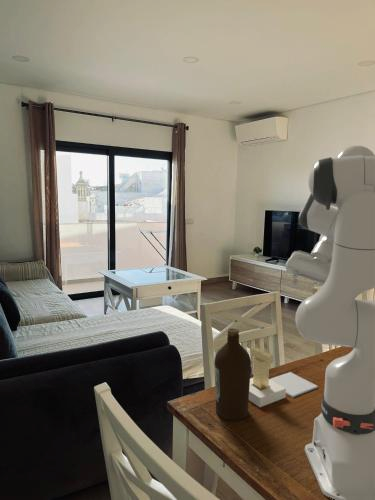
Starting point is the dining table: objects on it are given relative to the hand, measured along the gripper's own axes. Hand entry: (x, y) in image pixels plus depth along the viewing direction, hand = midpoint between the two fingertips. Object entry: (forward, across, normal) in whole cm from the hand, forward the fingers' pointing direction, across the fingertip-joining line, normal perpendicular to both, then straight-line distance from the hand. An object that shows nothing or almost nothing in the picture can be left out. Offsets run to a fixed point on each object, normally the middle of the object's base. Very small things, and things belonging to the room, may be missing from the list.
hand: (307, 288), depth 117 cm
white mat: (+24, +3, +24) cm, 34 cm away
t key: (+33, -2, +16) cm, 37 cm away
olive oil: (+44, -5, +7) cm, 45 cm away
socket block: (+33, -2, +16) cm, 37 cm away
